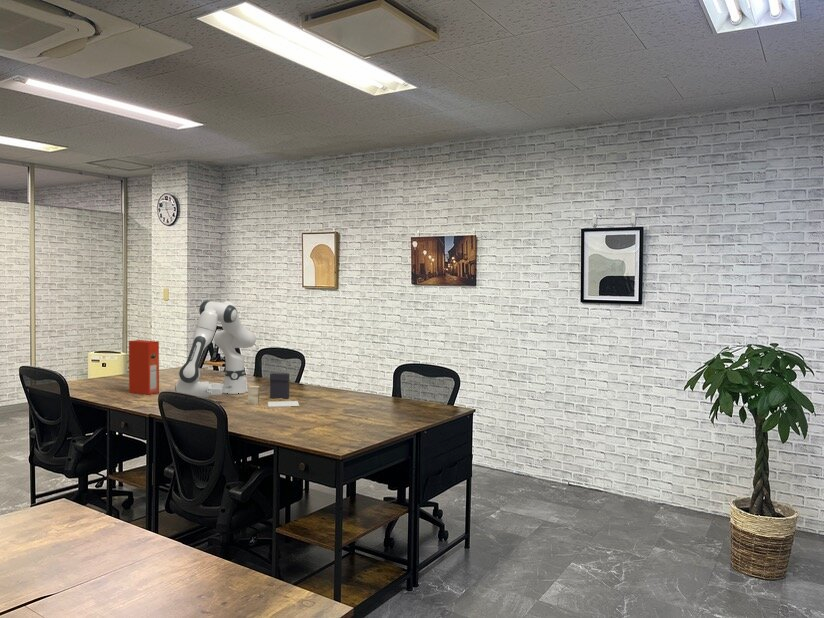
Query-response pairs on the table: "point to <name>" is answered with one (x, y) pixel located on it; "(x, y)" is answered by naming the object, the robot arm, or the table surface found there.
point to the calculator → (279, 385)
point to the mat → (283, 404)
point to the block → (253, 395)
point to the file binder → (144, 367)
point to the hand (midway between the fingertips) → (231, 388)
